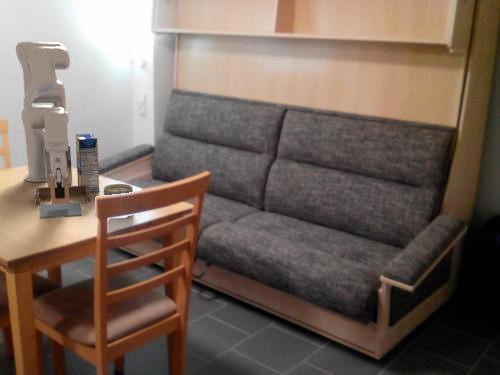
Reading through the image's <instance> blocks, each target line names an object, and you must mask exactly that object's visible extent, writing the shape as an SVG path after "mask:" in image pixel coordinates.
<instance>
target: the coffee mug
mask: <svg viewBox="0 0 500 375" xmlns="http://www.w3.org/2000/svg"><path fill="white" fill-rule="evenodd" d="M133 191H134V189H133V186H132V185H131V184H125V183H113V184H112V183H111V184H107V185H105V186H104V187H103V196H104V195H112V194H121V193H129V192H133ZM133 193H134V192H133Z"/></svg>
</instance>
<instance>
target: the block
mask: <svg viewBox="0 0 500 375" xmlns="http://www.w3.org/2000/svg"><path fill="white" fill-rule="evenodd" d="M54 177H55V176H54ZM56 179H57V177H56ZM61 179H62V177H61ZM63 186H64V190H65V198H60V199H56V198H55V180H54V179H53V177H52V174H50V189H51V198H50V202H51V203H50V204H68V203H70V197H69V188H68V186H69V185H68V173H67V179H65V178H63Z"/></svg>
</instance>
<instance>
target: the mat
mask: <svg viewBox="0 0 500 375" xmlns="http://www.w3.org/2000/svg"><path fill="white" fill-rule="evenodd" d="M76 216H77V217H78V216H79V217H80V216H83V213H82V205H81V201H79V202H78V201H77V202H69V203H68V204H51V203H44V204H40V209H39V219H47V218H48V219H49V218H63V217H64V218H65V217H76Z"/></svg>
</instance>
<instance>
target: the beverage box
mask: <svg viewBox="0 0 500 375" xmlns="http://www.w3.org/2000/svg"><path fill="white" fill-rule="evenodd" d="M98 147H99V146H98V138H97V137H96V135H95V134H94V133H82V134H81V133H80V134H79V133H78V134H77V133H75V150H76V151H75V152H76V153H75V154H76V155H75V156H76V173H77V186H83V185H89V190H90V194H91V193H93V194H94V193H100V176H99V175H100V174H99V171H100V170H99V152H98V151H99V149H98Z"/></svg>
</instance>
